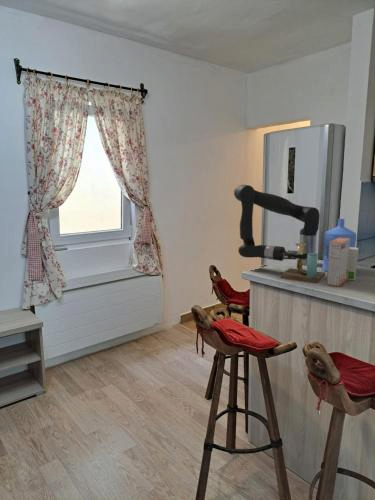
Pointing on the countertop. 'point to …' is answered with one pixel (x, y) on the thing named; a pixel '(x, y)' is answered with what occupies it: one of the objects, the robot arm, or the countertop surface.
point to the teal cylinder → (311, 265)
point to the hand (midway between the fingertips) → (306, 256)
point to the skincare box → (352, 263)
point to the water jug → (334, 234)
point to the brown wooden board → (301, 276)
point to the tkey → (299, 261)
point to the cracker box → (338, 261)
